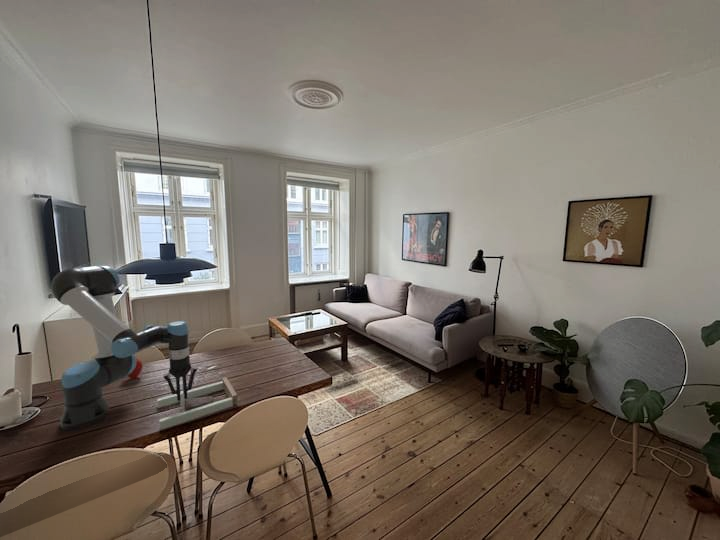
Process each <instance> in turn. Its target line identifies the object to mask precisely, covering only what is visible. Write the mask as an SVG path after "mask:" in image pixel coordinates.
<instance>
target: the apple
mask: <svg viewBox="0 0 720 540" xmlns="http://www.w3.org/2000/svg"><path fill="white" fill-rule="evenodd" d="M142 370H143V363H142V361H141V360H140V359H139V358H136V367H135V369H134V370H133V371H132V372H131V373H130V374H128V375H127V376H126V377H128V378H130V379H137V378H138V376H140V373H141V371H142Z"/></svg>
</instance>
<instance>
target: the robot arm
mask: <svg viewBox="0 0 720 540" xmlns="http://www.w3.org/2000/svg"><path fill="white" fill-rule="evenodd" d="M114 271H116V270H115V269H114V268H112V267H111V266H109V265H92V266H83V267H76V268H75V267H73V268H66V269H64V270H62V271H59V272H58V273H57V274H56V275H55V276H54V277H53V279H52V281H51V285H50V288H51V292H52V294H53V297H54V298H55V299H56V300H57V301H58V302H59V303H60V304H62V305H63V306H68V307H70V308H71V309H72V310H73V311H75V312H76V313H77V314H78V315H79V316H80V317H81V318H83V319H84V320H85V321H86V322H88V323H89V325H91V326H92V329H93V334H94V339H95V343H96V348H97V354H95V356H94V359H95V360H89V361H84V362H81V363H78V364H75V365H72V366H70V367H69V368H68V369H67V368H66V370H64V372H63V373H62V376H61V387H62V394H63V402H64V408H63V411H62V415H61V418H60V421H59V422H60V428H61V429H63V430H65V431H72V430H73V431H74V430H79V429H83V428H86V427H89V426H92V425H94V424H96V423H98V422H101V421H102V420H103V419H105V418H106V417H107V416H108V415H109V413H110V408H109V404H108V403H107V402H106V400H105V398H104V396H103V390H102V389H103V388H104V387H105V388H106V387H107V386H109V385H110V384H113V383H115V382H116V381H119V380H120V379H124V378H125V377H128V376H127V375H128V374H130V373H131V372H132V371H133V370H134V369H135V367H136V359H137V358H136V357H137V356H135V354H136V353H138V352H142V351H143V350H145V349H149V348H151V347H153V346H155V345H157V344H167V345H168V354H169V355H168V356H169V369H168V372H167V373H163V379H164V380H165V381H166V382H167V384H168V387H169V390H170V391H171V395H174V394H177V400H178V401H180V402H179V403H180V405H179V406H180V408H181V409H182V408H184V407H185V403H186V400H184V399H187V391H188V390H192V389H193V388H192V387H193V383H194V379H195V374H196V373H197V371H198V368H197V366H194V367H193V366H192V364H191V359H190V346H189V344H190V343H189V327H188V323H187V322H186V321H179V320H178V321H172V322H169V323H168V324H167V325H159V324H149V325H146V326H144V328H143V329H142V330H141V331H138V332H135V331H134V330H132V329H131V328H130V327H129V326H128V325H127V324H126V323H125V322H123V321H122V320H121V319H119V318H118V317H117V314H116V310H115V303H114V300H113V296H114V295H116V290H115V289H116V288H118V286H119V284H120V276H119V274H118V273H117V274H113V272H114ZM189 372H190V374H189ZM188 374H189V379H188V383H187V375H188ZM171 376H172V377H174V378H175V385H176V386H175V387H174V385H173V382H172V379H171ZM181 377H182V390H181V384H180V383H181V382H180V379H181ZM175 388H176V389H175Z"/></svg>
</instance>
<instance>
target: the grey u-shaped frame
mask: <svg viewBox="0 0 720 540" xmlns="http://www.w3.org/2000/svg"><path fill="white" fill-rule="evenodd" d="M221 380H222V381H218V382H214V383H210V384H207V385H203V386H201V387H200V386H199V387H197V388H191V390H188V391H187V399H184V400H185V401H186V400H188V399H193V398H199V397H203V396H206V395H208V394H212V393H215V392H218V391H222V390H224V392H225V394H226V396H227V398H225V399H224V398H223V399H221V400H217V401H213V403H211V404H208V405H204V406H201V407H198V408H195V409H191V410H188V411H185V412H184V411H181V412H178V413H176V414H172V415H169V416H167V417H163V418H160V419H159V429H160V430H165V429H168V428H170V427H174V426H176V425H179V424H182V423H185V422H188V421H191V420H194V419H197V418H201V417H203V416H207V415H210V414H212V413H216V412H219V411H222V410H225V409H228V408H231V407H234V406H237V405H238V395H237V393H236V391H235V389H234V387H233V386H232V384H231V383H230V381H229V378H228V377H226V376H225V377H223V378H221ZM156 400H157V408H158V409H160V408H163V407H167V406H170V405H173V404H176V403H177V404H178V403H180V401H178V400H177V394H174V395H173V394H169V395H167V396H164V397H159V398H157V399H156Z"/></svg>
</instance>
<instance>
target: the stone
mask: <svg viewBox="0 0 720 540" xmlns="http://www.w3.org/2000/svg"><path fill="white" fill-rule="evenodd" d="M211 403H214V397H213V396H211V395H210V396H198V397H195V398H191V399H188V400H185V407H183V408H184V411H183V412H185V411H188V410H191V409H195V408H198V407H201V406H204V405H208V404H211Z"/></svg>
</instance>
